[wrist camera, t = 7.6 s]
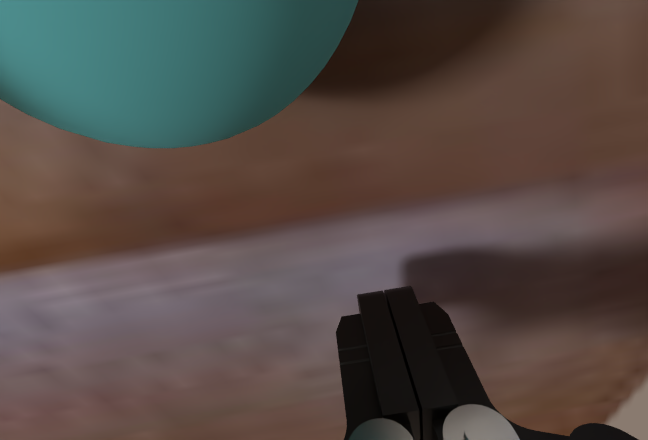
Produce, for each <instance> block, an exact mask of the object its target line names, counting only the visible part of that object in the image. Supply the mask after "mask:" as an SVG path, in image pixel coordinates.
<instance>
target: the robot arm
mask: <svg viewBox="0 0 648 440" xmlns="http://www.w3.org/2000/svg"><path fill="white" fill-rule="evenodd" d="M357 298H358V306H359V313H360V314H355V315H349V316H343V317H341V320H340V323H339V325H338V328H337V331H336V337H337V345H338V353H339V361H340V369H341V378H342V386H343V394H344V402H345V410H346V418H347V430H346V435H345V438H344V440H638V439H636V438H635V437H633V436H631V435H629V434H628V433H626V432H624V431H622V430H620V429H617V428H614V427H612V426H609V425H605V424H598V423H589V424H584V425H581V426H579V427H577V428H576V429H574V430H573V432H572V433H571V434H570V436H564V435H558V434H552V433H546V432H540V431H534V430H530V429H526V428H524V427H521V426H519V425H517V424H515V423H513V422H511V421H509V420H508V419H506V418H505V417H504V416H503V415H501V414H500V413H499V412H498V411H497V410H496V409H495V407H494V406H493V405H492V404H491V402H490V400H489V398H488V396H487V394H486V392H485V390H484V388H483V386H482V384H481V382H480V380H479V378H478V376H477V374H476V371H475V369H474V367H473V365H472V363H471V361H470V359H469V357H468V355H467V353H466V351H465V349H464V347H463V346H462V342H461V340H460V338H459V336H458V334H457V333H456V330H455V328H454V326H453V324H452V322H451V320H450V317H449V315H448V314H447V313H446V312H445V311H444V310H443V309H441V308H440V307H439V306H438V305H437V304H436V303H435V302H429V303H423V304H418V302H417V299H416V297H415V294H414V292H413V289H412V287H411V286H407V287H401V288H395V289H389V290H384V292H383V291H377V292H371V293H365V294H358V295H357Z"/></svg>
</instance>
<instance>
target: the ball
mask: <svg viewBox="0 0 648 440" xmlns="http://www.w3.org/2000/svg"><path fill="white" fill-rule="evenodd" d="M357 3H358V0H0V99H1V100H3V101H5V102H6V103H8V104H10V105H12V106H13V107H15V108H17V109H19V110H21V111H22V112H24V113H26V114H28V115H30V116H32V117H35V118H37V119H39V120H41V121H44V122H46V123H48V124H51V125H53V126H55V127H57V128H60V129H63V130H66V131H70V132H73V133H76V134H80V135H83V136H86V137H90V138H93V139H96V140H100V141H103V142H107V143H113V144H120V145H126V146H133V147H144V148H179V147H190V146H196V145H202V144H207V143H212V142H216V141H219V140H223V139H227V138H230V137H232V136H235V135H237V134H239V133H242V132H244V131H246V130H249V129H251V128H253V127H256V126H258V125H260V124H261V123H263V122H265V121H266V120H268V119H270V118H271V117H273V116H275V115H276V114H278V113H279V112H280V111H281V110H283V109H284V108H285V107H287V106H288V105H289V104H290V103H292V102H293V101H294V100H295V99H296V98H297V97H298V96H299V95H300V94H301V93H302V92H303V91H304V90H305V89H306V88H307V87H308V86H309V85H310V84H311V83H312V82H313V81H314V79H315V78H316V77H317V76H318V74H319V73H320V72H321V71H322V69H323V68H324V67H325V65H326V64H327V62H328V61H329V59H330V58H331V56H332V55H333V53H334V51H335V50H336V48H337V47H338V45H339V43H340V41H341V39H342V37H343V35H344V33H345V31H346V29H347V27H348V25H349V23H350V21H351V19H352V16H353V13H354V11H355V8H356V6H357Z"/></svg>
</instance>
